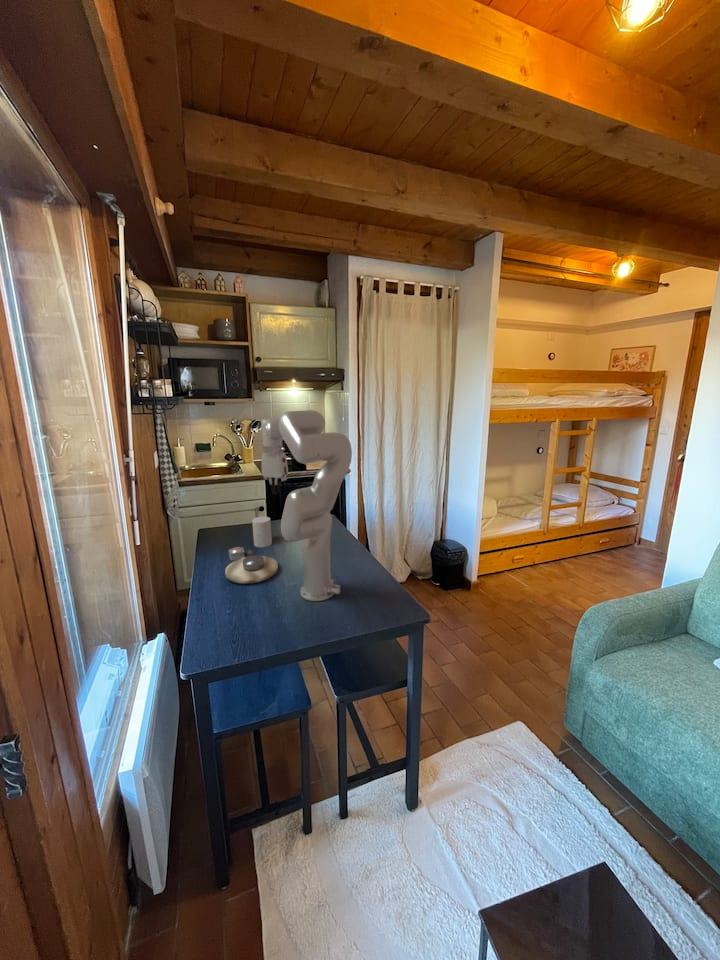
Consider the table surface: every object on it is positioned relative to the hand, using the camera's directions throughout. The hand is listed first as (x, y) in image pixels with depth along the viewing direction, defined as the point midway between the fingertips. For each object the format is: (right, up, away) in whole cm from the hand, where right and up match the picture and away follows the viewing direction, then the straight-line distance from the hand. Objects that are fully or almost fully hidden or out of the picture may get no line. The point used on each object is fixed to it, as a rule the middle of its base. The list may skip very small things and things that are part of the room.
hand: (275, 493), depth 155 cm
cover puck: (-8, -29, -5) cm, 30 cm away
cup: (-11, -25, +22) cm, 35 cm away
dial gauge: (-19, -28, +9) cm, 35 cm away
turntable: (-8, -30, -5) cm, 32 cm away
